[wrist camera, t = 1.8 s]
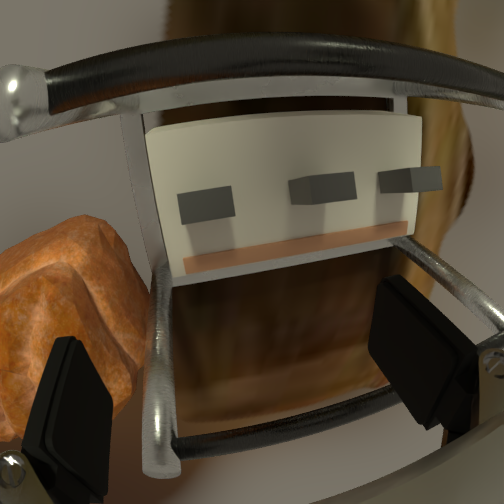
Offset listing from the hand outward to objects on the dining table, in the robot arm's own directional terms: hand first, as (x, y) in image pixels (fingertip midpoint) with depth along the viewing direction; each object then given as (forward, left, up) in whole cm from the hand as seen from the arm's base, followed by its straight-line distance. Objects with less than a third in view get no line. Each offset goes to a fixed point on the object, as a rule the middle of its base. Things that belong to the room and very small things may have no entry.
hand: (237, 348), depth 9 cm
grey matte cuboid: (0, +14, -13) cm, 19 cm away
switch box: (0, +7, -19) cm, 20 cm away
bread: (+9, -19, -19) cm, 29 cm away
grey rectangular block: (0, 0, -13) cm, 13 cm away
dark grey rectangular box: (0, +7, -13) cm, 14 cm away
